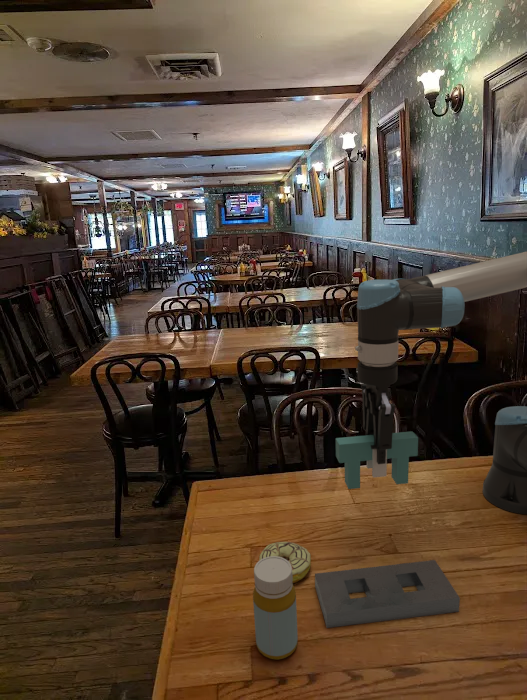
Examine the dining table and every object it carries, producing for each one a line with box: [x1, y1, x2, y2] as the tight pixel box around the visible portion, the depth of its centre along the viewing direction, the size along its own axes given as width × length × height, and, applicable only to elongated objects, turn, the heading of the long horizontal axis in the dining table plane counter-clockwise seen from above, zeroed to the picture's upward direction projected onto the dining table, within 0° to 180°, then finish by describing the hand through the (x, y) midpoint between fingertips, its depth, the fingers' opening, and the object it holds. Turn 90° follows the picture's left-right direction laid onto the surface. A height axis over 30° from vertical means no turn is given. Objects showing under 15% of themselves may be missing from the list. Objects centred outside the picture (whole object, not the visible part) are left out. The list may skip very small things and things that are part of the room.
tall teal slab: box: [335, 430, 419, 490], centre depth 98 cm, size 16×3×10 cm, turn 95°
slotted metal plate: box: [314, 559, 461, 629], centre depth 90 cm, size 24×10×3 cm, turn 96°
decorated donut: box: [258, 541, 312, 585], centre depth 99 cm, size 10×11×4 cm
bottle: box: [252, 556, 299, 661], centre depth 80 cm, size 7×7×15 cm
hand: (376, 471), depth 99 cm, fingers closed on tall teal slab, 3 cm apart
